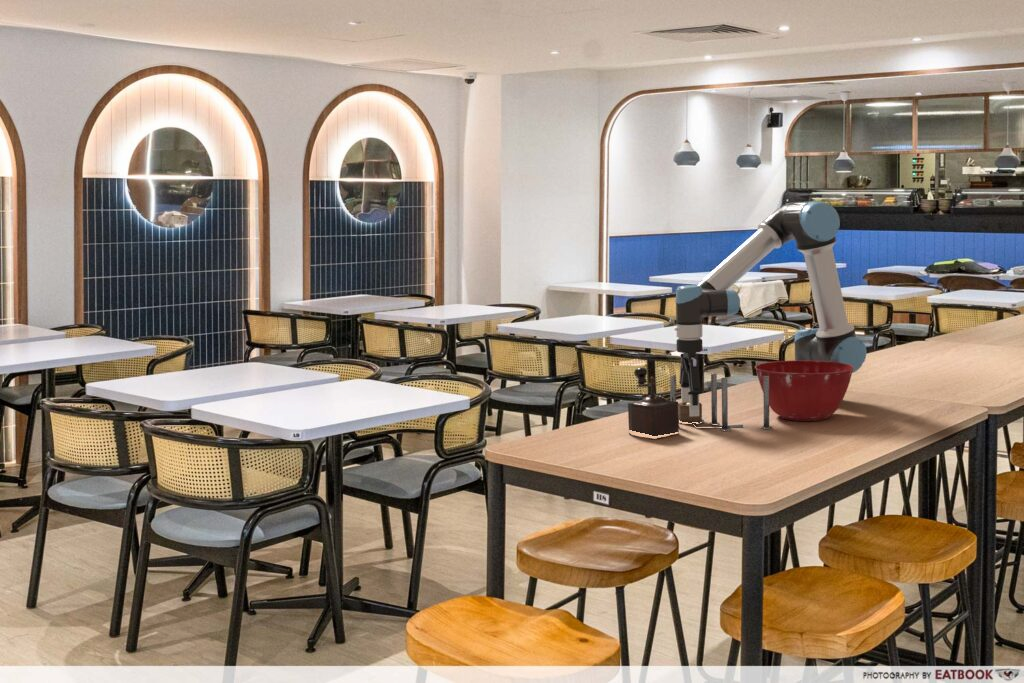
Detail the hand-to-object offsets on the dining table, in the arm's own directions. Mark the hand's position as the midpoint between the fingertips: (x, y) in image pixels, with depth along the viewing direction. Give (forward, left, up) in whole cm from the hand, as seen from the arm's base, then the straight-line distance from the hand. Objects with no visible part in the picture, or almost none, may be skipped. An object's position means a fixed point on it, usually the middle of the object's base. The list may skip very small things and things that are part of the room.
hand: (690, 412), depth 338 cm
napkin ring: (0, 0, -2) cm, 2 cm away
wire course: (+10, +6, -3) cm, 12 cm away
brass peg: (0, 0, -3) cm, 3 cm away
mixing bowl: (0, +34, -3) cm, 34 cm away
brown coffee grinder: (+13, -15, -3) cm, 20 cm away
